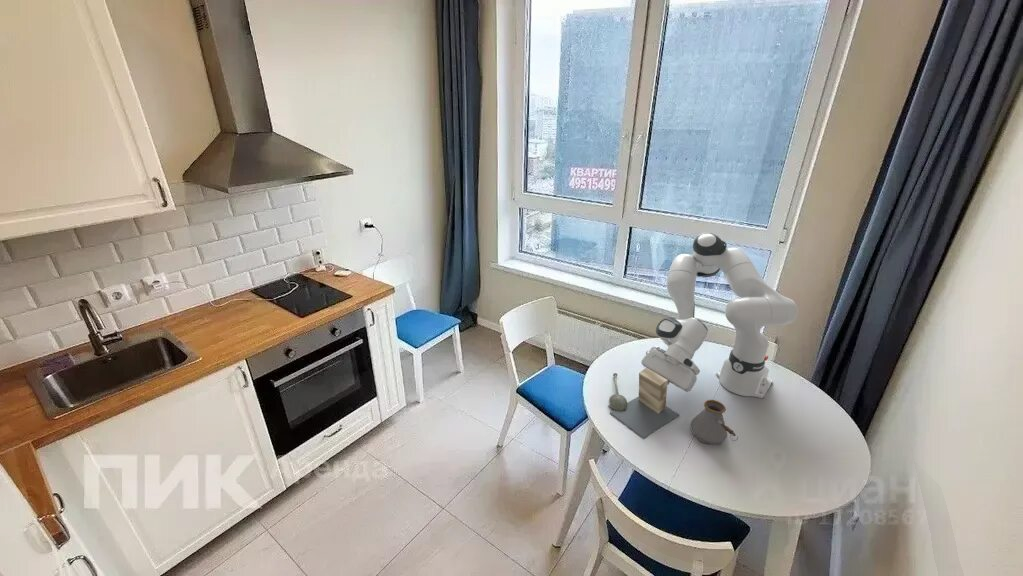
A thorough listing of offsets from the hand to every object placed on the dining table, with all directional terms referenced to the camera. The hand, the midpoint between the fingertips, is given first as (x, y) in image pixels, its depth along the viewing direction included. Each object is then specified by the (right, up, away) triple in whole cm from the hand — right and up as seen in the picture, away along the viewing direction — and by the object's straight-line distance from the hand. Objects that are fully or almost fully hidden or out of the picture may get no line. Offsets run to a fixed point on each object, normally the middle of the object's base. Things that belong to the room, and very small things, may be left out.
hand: (656, 387), depth 151 cm
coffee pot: (+13, -16, -16) cm, 26 cm away
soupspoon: (-12, -4, +8) cm, 15 cm away
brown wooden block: (-1, -6, +2) cm, 7 cm away
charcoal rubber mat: (-5, -9, -2) cm, 11 cm away
